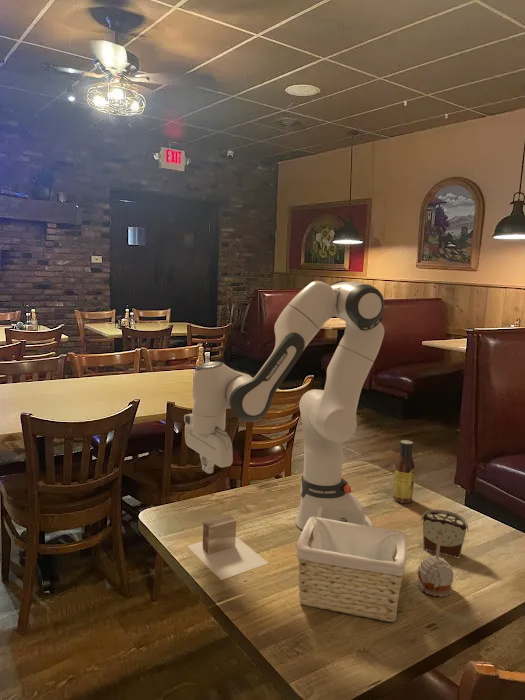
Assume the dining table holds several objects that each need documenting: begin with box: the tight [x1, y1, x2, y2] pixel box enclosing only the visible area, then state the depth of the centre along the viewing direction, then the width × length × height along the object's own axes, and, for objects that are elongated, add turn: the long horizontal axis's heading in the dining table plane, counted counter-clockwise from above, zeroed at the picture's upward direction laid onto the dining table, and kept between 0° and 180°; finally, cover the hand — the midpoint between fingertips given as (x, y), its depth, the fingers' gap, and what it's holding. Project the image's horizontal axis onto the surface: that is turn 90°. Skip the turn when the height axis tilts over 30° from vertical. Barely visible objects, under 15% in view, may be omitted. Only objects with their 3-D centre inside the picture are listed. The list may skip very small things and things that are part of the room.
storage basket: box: [296, 517, 408, 623], centre depth 126 cm, size 24×16×15 cm
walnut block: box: [202, 514, 237, 555], centre depth 145 cm, size 4×8×8 cm, turn 125°
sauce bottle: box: [392, 439, 416, 504], centre depth 178 cm, size 6×6×20 cm
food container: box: [420, 509, 469, 558], centre depth 150 cm, size 12×6×10 cm, turn 65°
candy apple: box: [416, 530, 454, 598], centre depth 131 cm, size 8×8×15 cm
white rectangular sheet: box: [186, 536, 269, 581], centre depth 142 cm, size 18×14×1 cm
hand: (207, 471), depth 148 cm, fingers closed
